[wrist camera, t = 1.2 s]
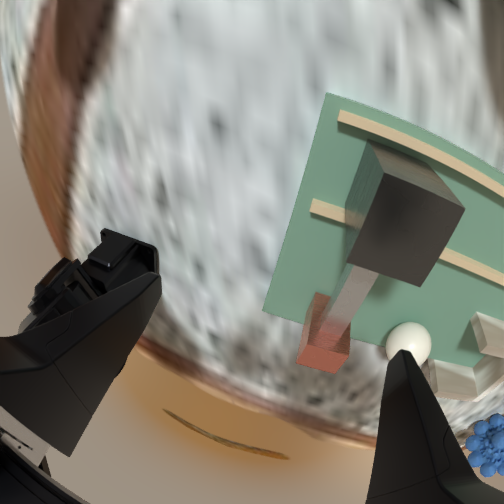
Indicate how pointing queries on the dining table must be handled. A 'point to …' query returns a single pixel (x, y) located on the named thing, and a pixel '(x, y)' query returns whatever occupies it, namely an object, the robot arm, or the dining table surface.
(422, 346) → the ball
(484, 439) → the grapes
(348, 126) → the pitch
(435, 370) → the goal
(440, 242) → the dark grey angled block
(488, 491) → the robot arm
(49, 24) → the dining table surface
